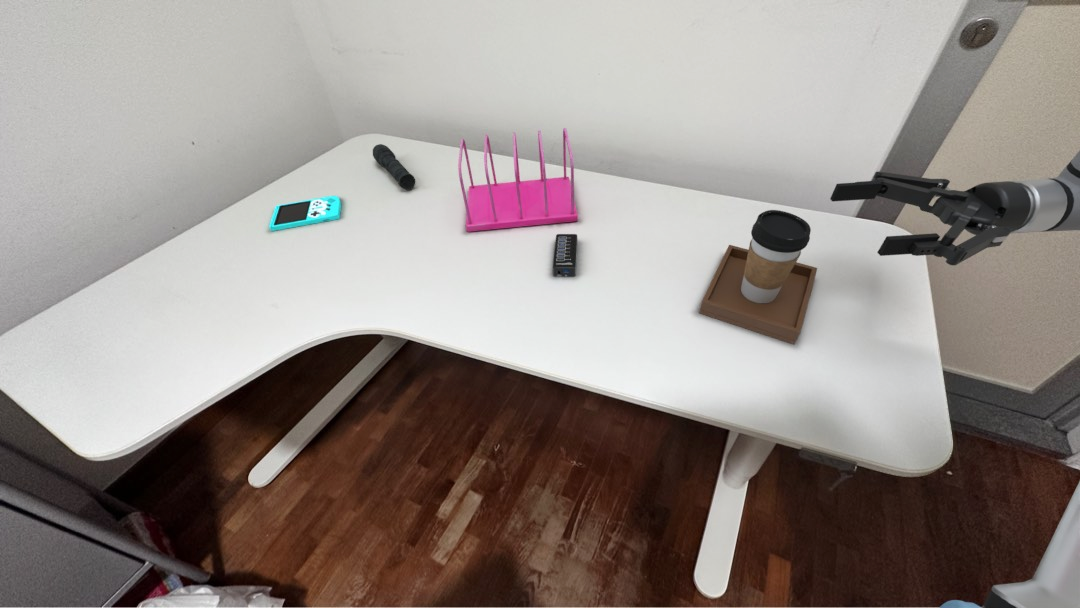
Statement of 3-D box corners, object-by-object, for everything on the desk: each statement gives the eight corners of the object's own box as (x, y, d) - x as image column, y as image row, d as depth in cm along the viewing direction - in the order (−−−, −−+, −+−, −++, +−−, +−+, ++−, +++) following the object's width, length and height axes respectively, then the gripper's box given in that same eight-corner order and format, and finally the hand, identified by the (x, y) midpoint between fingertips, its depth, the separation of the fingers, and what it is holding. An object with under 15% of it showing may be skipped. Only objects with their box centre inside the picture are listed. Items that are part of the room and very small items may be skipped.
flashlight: (391, 157, 130) (386, 141, 127) (419, 187, 118) (414, 169, 114) (375, 163, 129) (369, 146, 125) (401, 194, 116) (395, 176, 112)
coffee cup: (742, 270, 86) (764, 202, 75) (789, 286, 82) (820, 217, 72) (726, 297, 81) (747, 228, 71) (775, 315, 78) (806, 245, 67)
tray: (794, 344, 74) (800, 332, 72) (698, 313, 80) (701, 301, 78) (811, 280, 84) (817, 267, 82) (725, 256, 91) (729, 244, 89)
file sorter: (577, 222, 102) (577, 157, 91) (466, 233, 102) (452, 169, 91) (569, 182, 114) (567, 120, 103) (470, 192, 114) (457, 131, 103)
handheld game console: (339, 219, 109) (337, 214, 108) (270, 232, 108) (267, 227, 107) (342, 198, 116) (340, 193, 115) (277, 209, 115) (274, 204, 114)
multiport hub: (577, 242, 97) (577, 233, 95) (575, 276, 89) (575, 267, 88) (556, 242, 98) (556, 233, 96) (553, 276, 90) (552, 267, 88)
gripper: (1060, 285, 59) (894, 295, 60) (937, 186, 77) (809, 194, 78) (1107, 238, 54) (924, 250, 55) (963, 143, 72) (826, 153, 72)
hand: (856, 217), depth 66 cm, fingers open, 13 cm apart
